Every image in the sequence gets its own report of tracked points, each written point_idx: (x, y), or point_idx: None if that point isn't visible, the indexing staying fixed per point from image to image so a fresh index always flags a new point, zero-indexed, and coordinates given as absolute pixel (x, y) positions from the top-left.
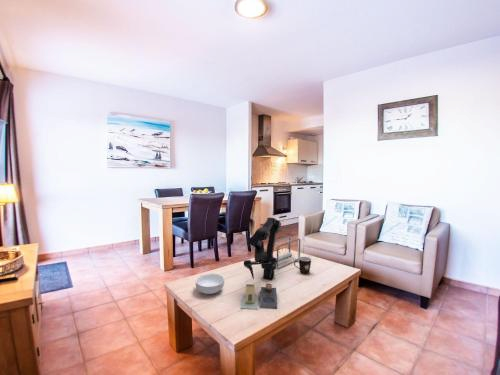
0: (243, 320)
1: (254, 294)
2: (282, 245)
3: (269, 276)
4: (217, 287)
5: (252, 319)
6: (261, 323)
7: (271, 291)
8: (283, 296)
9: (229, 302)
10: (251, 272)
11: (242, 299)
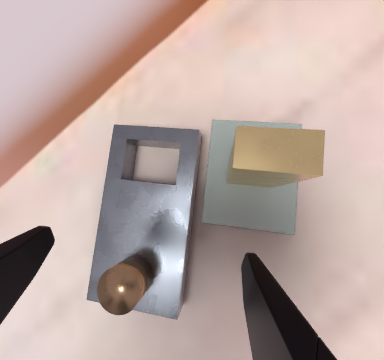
0: (280, 37)
1: (228, 179)
2: None
3: (39, 230)
4: None
5: (240, 47)
6: (203, 26)
7: (121, 254)
8: (76, 238)
9: (370, 181)
10: (305, 336)
11: (294, 204)
